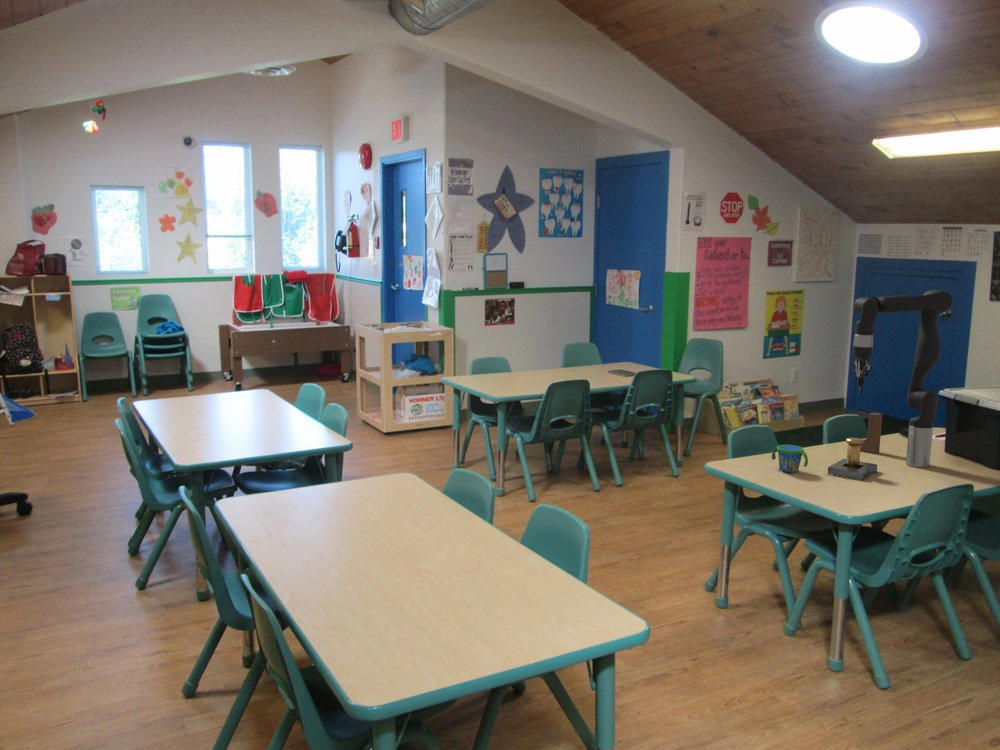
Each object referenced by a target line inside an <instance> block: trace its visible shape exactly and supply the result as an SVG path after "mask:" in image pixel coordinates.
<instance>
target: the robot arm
mask: <svg viewBox="0 0 1000 750" xmlns="http://www.w3.org/2000/svg"><path fill="white" fill-rule="evenodd" d="M953 302H954V299H953V296H952V295H951V293H949V291H946V290H942V289H929V290H927V291H925V292H924V293H923V294H922V295H921V294H920V295H903V294H902V295H900V294H899V295H885V296H861V297H859V298H856V299H855V301H854V302H853V309H854V311H855V312H857V313H858V314H861V315H860V319H859V320H857V321H856V322H855V328H854V338H853V345H852V356H853V357H855V358H854V361H852V362H851V365H852V369H853V373H854V375H855V376H856V377H857V379H856V380H857V381H856V386H857V387H864V383H865V378H867V377H868V375H869V374H870V372H871V370H872V365H870V364H869V363H870V358H872V356H873V349H874V347H873V346H874V328H875V327H874V324H875V322H876V320H877V317H878V313H880V314H881V313H882V314H891V313H902V312H913V311H919V313H920V315H919V317H920V318H919V328H918V336H917V341H916V346H915V347H916V348H915V354H914V363H913V369H912V373H911V379H910V381H909V382H910V383H909V387H908V391H907V396H906V403H907V406H908V407H909V408H910V409H913V410H918V411H920V415H919V416H914V417H912V418H910V419H909V423H908V436H907V447H906V459H905V464H906V465H907V466H909V467H914V468H929V467H930V463H931V455H932V444H933V434H934V433H933V430H934V423H935V421H936V417H937V411H938V410H937V409H938V403H939V398H938V397H939V396H938V394H937V392H936V391H935V390H932V389H926V388H924V385H925V381H926V377H927V376H928V374H929V373H930V372H931V371H932V370H933V369H934V368H935V366H936V365H937V363H938V362H939V359H940V354H941V347H942V341H941V336H940V332H939V329H938V316H939V313H943V312H946V311H948V310H949V309H951V307H952V305H953Z"/></svg>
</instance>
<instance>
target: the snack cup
mask: <svg viewBox="0 0 1000 750" xmlns="http://www.w3.org/2000/svg"><path fill="white" fill-rule="evenodd" d="M776 452H777V454H778V455H777V457H778V459H777V460H778V469H779V470H780V471H781V470H782V471H781V472H783V471H785V472H784V473H788V472H795V473H798V472H799V469H800V464H801V461H802V456H803V457H804V463H803V468H806V467H808V464H809V458H808V454H807V453H806V452H805V451H804V448H803V447H802V446H799V445H794V444H779V445H777V446H775V447H774V448H773V449H772V452H771V460H773V461H775V460H776Z"/></svg>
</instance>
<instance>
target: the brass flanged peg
mask: <svg viewBox="0 0 1000 750" xmlns="http://www.w3.org/2000/svg"><path fill="white" fill-rule="evenodd" d="M845 443H847V448H846V449H847V451H846V459H847V462H846V467H850V468H855V469H859V463H860V462H861V461H860V460H861V451H860V450H861V444H863V440H862V438H858V437H847V438H845Z"/></svg>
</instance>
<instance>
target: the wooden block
mask: <svg viewBox="0 0 1000 750" xmlns="http://www.w3.org/2000/svg"><path fill="white" fill-rule="evenodd" d="M882 422H883V413H880V412H870V413H869V414H868V425H867V426H868V427H867V435H866V438H863V439H862V438H861V439H862V440H863V444H861V450H860V452H863V451H865V452H864V453H869V452H870V453H871V454H875V455H876V454H878V453H880V448H881V434H882V424H883V423H882ZM870 453H869V454H870Z"/></svg>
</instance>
